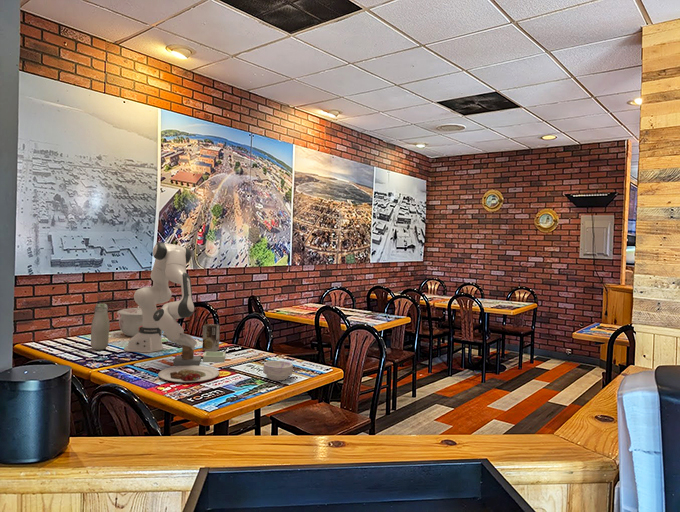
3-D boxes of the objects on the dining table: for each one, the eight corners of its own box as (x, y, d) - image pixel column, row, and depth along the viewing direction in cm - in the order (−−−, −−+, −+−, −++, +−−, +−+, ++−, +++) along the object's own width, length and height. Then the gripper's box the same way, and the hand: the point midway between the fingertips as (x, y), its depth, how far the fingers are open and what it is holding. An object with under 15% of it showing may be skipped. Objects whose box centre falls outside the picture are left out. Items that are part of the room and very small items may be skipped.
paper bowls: (296, 376, 262) (296, 361, 262) (286, 384, 248) (287, 368, 247) (269, 373, 266) (269, 358, 266) (258, 380, 251) (259, 365, 251)
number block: (187, 359, 273) (188, 341, 273) (181, 357, 276) (182, 340, 276) (193, 358, 277) (194, 340, 276) (187, 356, 279) (188, 339, 279)
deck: (173, 365, 270) (173, 360, 270) (175, 361, 280) (176, 355, 280) (199, 365, 273) (199, 360, 273) (201, 361, 283) (201, 356, 283)
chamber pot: (131, 340, 325) (132, 309, 325) (107, 334, 340) (108, 305, 340) (167, 335, 349) (168, 306, 348) (143, 329, 364) (144, 302, 363)
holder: (202, 361, 282) (203, 356, 282) (204, 356, 294) (204, 351, 294) (224, 362, 284) (224, 356, 284) (225, 357, 296) (225, 351, 296)
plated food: (197, 365, 274) (197, 359, 274) (231, 377, 255) (231, 371, 255) (146, 375, 251) (146, 368, 250) (179, 389, 232) (180, 381, 231)
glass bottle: (93, 352, 290) (94, 305, 289) (88, 348, 298) (90, 302, 297) (110, 350, 297) (112, 304, 296) (105, 347, 304) (107, 302, 303)
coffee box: (219, 349, 314) (220, 324, 314) (215, 351, 308) (217, 326, 308) (205, 348, 315) (206, 323, 315) (201, 350, 309) (202, 325, 308)
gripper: (190, 330, 264) (204, 346, 273) (167, 325, 276) (181, 340, 284) (183, 340, 261) (197, 355, 269) (160, 334, 272) (174, 349, 281)
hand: (189, 347), depth 277 cm, fingers open, 6 cm apart
